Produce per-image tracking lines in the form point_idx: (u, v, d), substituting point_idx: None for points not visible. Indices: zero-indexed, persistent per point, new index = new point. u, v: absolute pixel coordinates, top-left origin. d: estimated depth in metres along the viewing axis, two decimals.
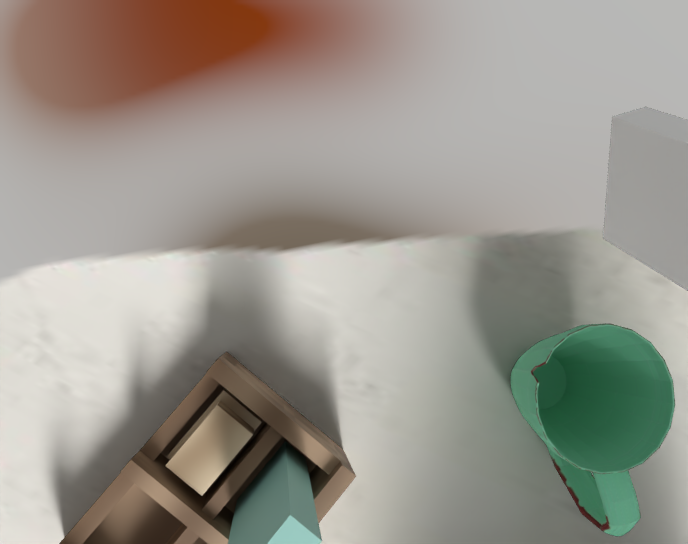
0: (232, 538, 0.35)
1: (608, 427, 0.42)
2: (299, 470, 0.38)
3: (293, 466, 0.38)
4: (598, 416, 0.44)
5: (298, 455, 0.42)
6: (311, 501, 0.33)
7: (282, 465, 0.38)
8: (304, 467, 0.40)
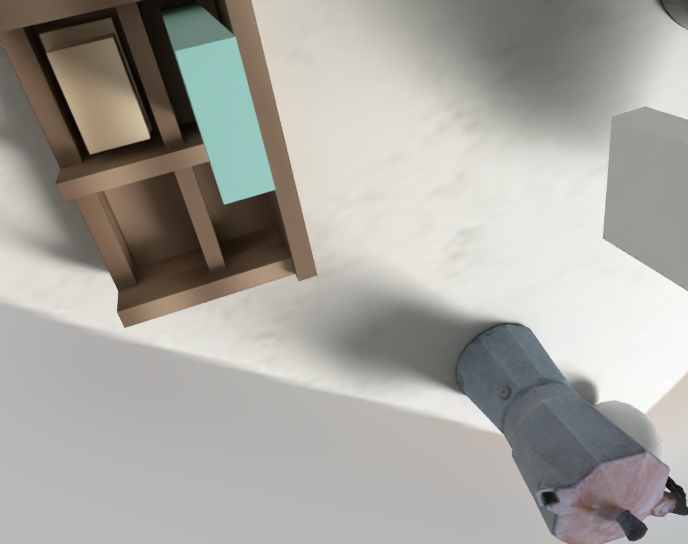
0: None
1: None
2: (186, 13, 0.27)
3: (175, 16, 0.27)
4: None
5: (183, 5, 0.31)
6: (211, 21, 0.23)
7: (166, 28, 0.27)
8: (194, 7, 0.29)
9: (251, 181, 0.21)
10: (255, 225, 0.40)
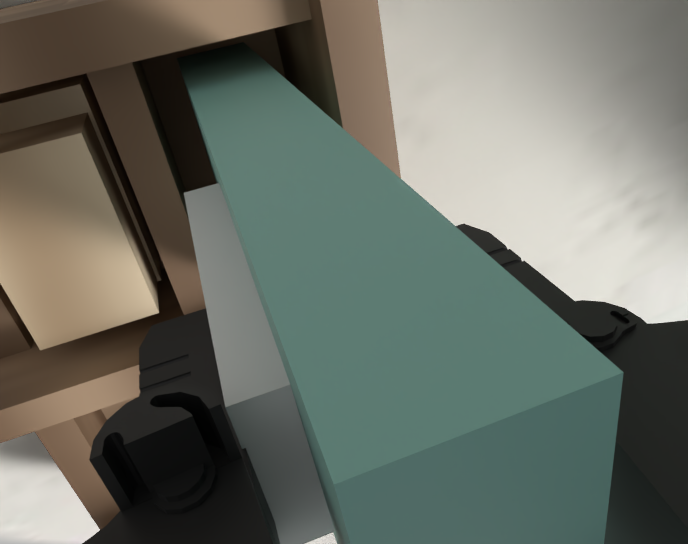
0: None
1: None
2: (243, 87, 0.12)
3: (220, 96, 0.12)
4: None
5: (223, 54, 0.16)
6: (342, 145, 0.08)
7: (199, 121, 0.12)
8: (252, 64, 0.14)
9: None
10: None
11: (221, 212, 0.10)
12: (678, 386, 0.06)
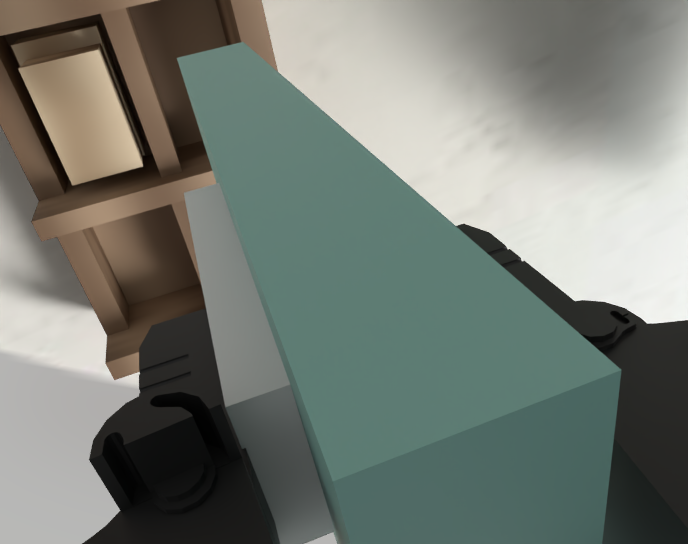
0: None
1: None
2: (243, 87, 0.12)
3: (220, 96, 0.12)
4: None
5: (223, 54, 0.16)
6: (341, 145, 0.08)
7: None
8: (252, 64, 0.14)
9: None
10: None
11: (221, 212, 0.10)
12: (678, 386, 0.06)
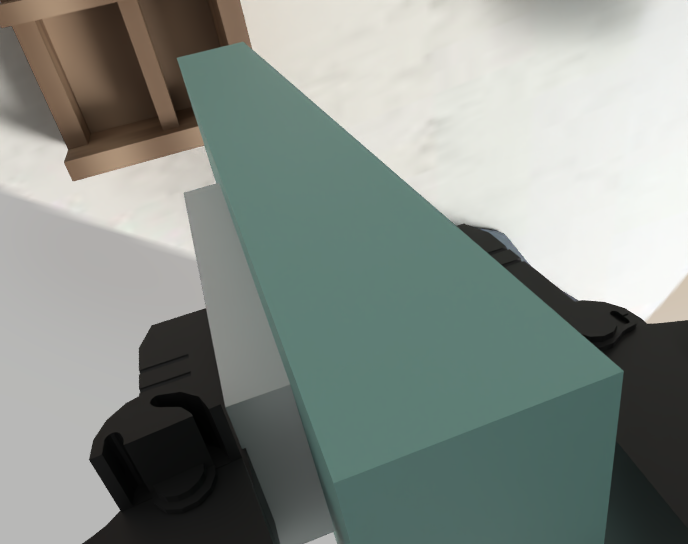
0: None
1: None
2: (243, 86, 0.12)
3: (220, 95, 0.12)
4: None
5: (223, 54, 0.16)
6: (342, 145, 0.08)
7: None
8: (252, 64, 0.14)
9: None
10: None
11: (221, 212, 0.10)
12: (678, 386, 0.06)
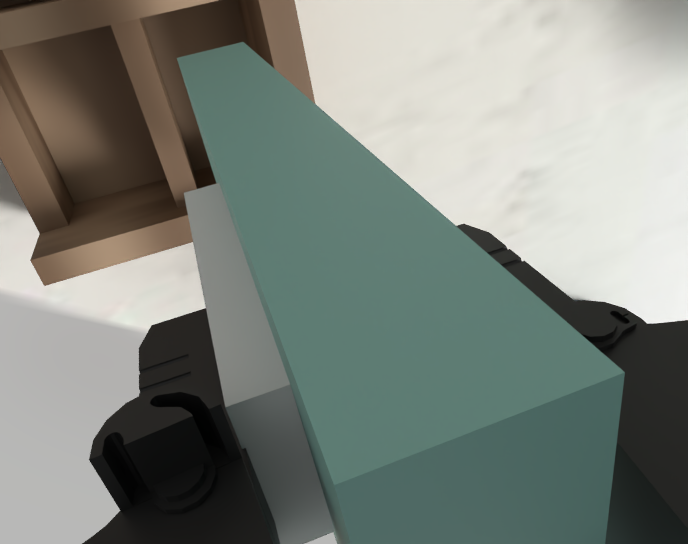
0: None
1: None
2: (243, 87, 0.12)
3: (220, 96, 0.12)
4: None
5: (223, 54, 0.16)
6: (342, 145, 0.08)
7: None
8: (252, 64, 0.14)
9: None
10: None
11: (221, 212, 0.10)
12: (678, 386, 0.06)
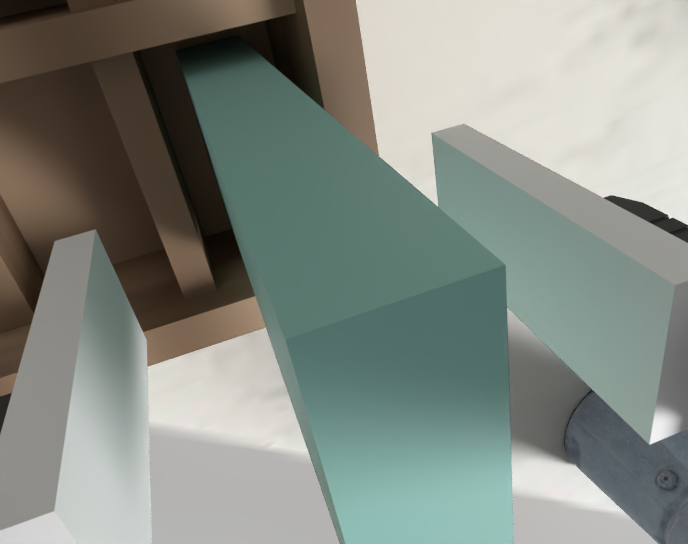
0: None
1: None
2: (235, 73, 0.13)
3: (214, 81, 0.13)
4: None
5: (218, 46, 0.17)
6: (317, 119, 0.09)
7: (195, 105, 0.13)
8: (244, 54, 0.15)
9: None
10: None
11: (80, 267, 0.10)
12: None
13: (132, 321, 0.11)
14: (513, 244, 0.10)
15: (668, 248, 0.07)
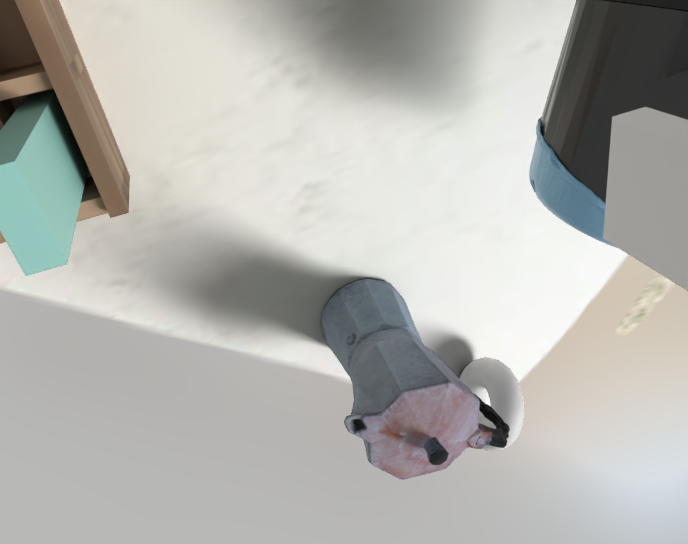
0: None
1: None
2: (30, 112, 0.34)
3: (20, 115, 0.34)
4: None
5: (42, 96, 0.38)
6: (28, 131, 0.30)
7: None
8: (44, 101, 0.36)
9: (45, 259, 0.28)
10: None
11: None
12: None
13: None
14: None
15: None
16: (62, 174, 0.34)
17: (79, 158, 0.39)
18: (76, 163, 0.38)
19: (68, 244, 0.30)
